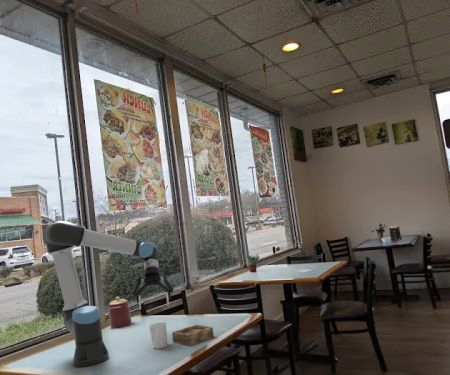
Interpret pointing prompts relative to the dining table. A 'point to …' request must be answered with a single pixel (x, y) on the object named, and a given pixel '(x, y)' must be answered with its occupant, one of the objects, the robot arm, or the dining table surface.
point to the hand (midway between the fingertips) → (154, 306)
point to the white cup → (158, 335)
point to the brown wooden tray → (192, 334)
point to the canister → (119, 313)
